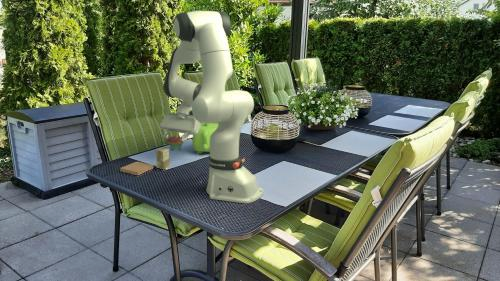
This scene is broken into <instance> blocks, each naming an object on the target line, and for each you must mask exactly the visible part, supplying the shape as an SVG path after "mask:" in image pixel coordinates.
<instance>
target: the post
mask: <svg viewBox="0 0 500 281" xmlns="http://www.w3.org/2000/svg"><path fill="white" fill-rule="evenodd" d="M155 158H156V169H157V168H160V169H163V170H162V171H165V170H164V169H166V168H168V169H170V168H169V167H170V149H169V148H165V147H161V148H160V147H159V148H157V149H155ZM166 170H167V169H166Z"/></svg>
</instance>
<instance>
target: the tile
mask: <svg viewBox="0 0 500 281" xmlns="http://www.w3.org/2000/svg"><path fill="white" fill-rule="evenodd" d="M154 166H155V165H153V164H149V163H145V162H140V161H134V162H131V163H129V164H127V165H125V166H122V167H120V172H121V171H122V172H127V173H131V174H134V175H140V174H142V173H144V172H146V171H148V170H151V169H153V168H154ZM151 171H152V170H151ZM142 175H143V174H142ZM140 176H141V175H140Z"/></svg>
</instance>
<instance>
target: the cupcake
mask: <svg viewBox="0 0 500 281" xmlns="http://www.w3.org/2000/svg"><path fill="white" fill-rule="evenodd" d="M175 134H176V135H174V136H169V137H168V139H167V140H166V144H168V145H169V147H170V149H172V150H171V151H173V150H178V151H181V149H182V146H183V144H184V142H183V141H180V137H181V136H179V135H178V134H179V133H178V132H176V133H175Z"/></svg>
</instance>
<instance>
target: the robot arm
mask: <svg viewBox="0 0 500 281" xmlns="http://www.w3.org/2000/svg"><path fill="white" fill-rule="evenodd" d="M173 29H174V33H175V35H176V38H177V39H179V41H180V44H179V46H177V47H175V48H174V49H173V51H172V53H171V57H170V58H169V62H168V63H169V64H168V67H167V72H166V74H165V75H166V76H165V78H164V82H163V85H162V90H163V92H164V94H165V95H166V96H167V97H172V98H175V99H179V100H181V103H180V104H179V106H178V108H177V110H176V112H175V113H174V112H173V113H172V112H169V113H168V114H166V115H165V116H164V118H162V121H161V122H160V123H159V126H160V128H161V129H162V130H163V131H164V132H163V133H164V134H163V138H164V139H167V140H168V139H169V138H170V135H169V133H170V132H174V133H177V132H178V134H183V135H181V136H179V137H180V141H183V143H184V142H185V140H186V139H187V138H188V137H189V136H190V135H192V136H193V135H196V134H197V133H198V132H199V129H200V126H201V124H200V123H217V124H219V125H218V127H217V129H216V130H215V131H214V132H213V133H212V134H211V136H210V152H209V155H208V168H209V173H208V181H207V186H206V189H205V192H206V194H208V196H209V198H210V200H217V201H218V200H219V201H225V202H233V203H240V204H251V203H254V202H256V201H258V200H259V199H261V197H263V195H264V189H263V188H262V187H259V185H258V179H257V177H256V176H255V175H254V174H253V173H251V171H250V170H248V169H247V168H246V167H245V166H244V164H243V163H244V162H245V158H244V157H243V159H242V158H241V156H240V154H239V152H240V150H239V149H240V137H241V136H240V135H241V131H242V130H243V126H244V125H245V122H246V120H247V118H248V117H249V116H250V115H251V114H252V113H253V111H254V107H255V100H254V98H253V96H252V94H251V93H250V92H248V91H246V90H238V89H234V90H226V83H227V81H228V80H229V79H231V77H232V75H233V74H234V67H233V61H232V55H231V49H230V45H229V41H228V40H229V39H228V36H229V35H230V33H231V31H232V30H231V29H232V22H231V18H230V16H229V15H228V13H227V12H225V11H222V10H215V11H213V10H194V11H187V12H186V11H182V12H180V13H177V14H176V15H175V17H174V19H173ZM198 62H200V63H201V70H202V84H200V83H198V82H194V81H193V80H188V79H186V78H183V77H180V76H179V75H178V72H179V69H180V65H183V64H185V65H188V64H191V65H192V64H195V63H198Z"/></svg>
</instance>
